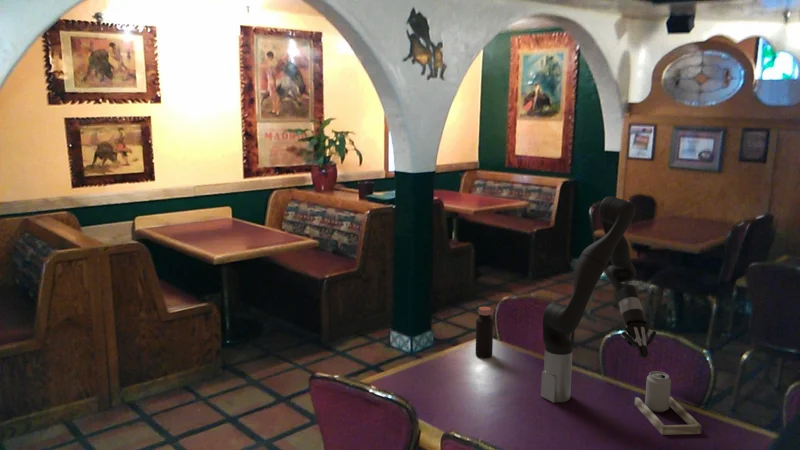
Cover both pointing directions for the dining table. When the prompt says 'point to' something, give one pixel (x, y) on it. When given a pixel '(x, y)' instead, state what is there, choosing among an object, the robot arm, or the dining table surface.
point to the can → (658, 391)
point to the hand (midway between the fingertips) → (644, 357)
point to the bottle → (484, 333)
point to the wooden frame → (691, 428)
